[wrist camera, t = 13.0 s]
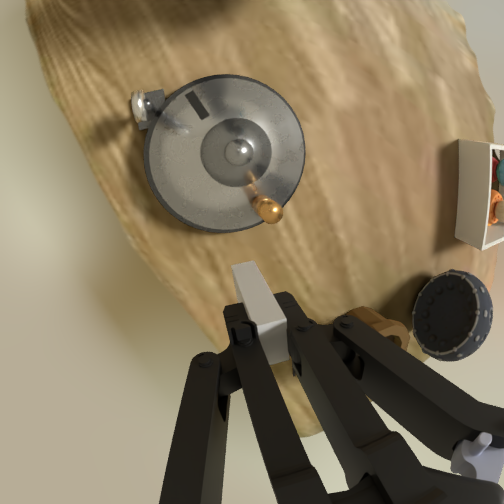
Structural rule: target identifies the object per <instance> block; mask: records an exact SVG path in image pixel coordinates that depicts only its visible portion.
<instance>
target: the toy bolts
mask: <svg viewBox="0 0 504 504" xmlns="http://www.w3.org/2000/svg"><path fill="white" fill-rule="evenodd" d="M497 179H498V181H499V183H500V185H501V186H504V159H502V160H501V161H500V162H499V163H498V161H497V160H496V159H495V158H494V157H492V181H491V182H495V181H496V180H497ZM498 220H499V221H501V222H504V201H503V199H502V196H501V194H500V193H499V192H497V191H496V190H493V189H492V190H491V197H490V208H489V218H488V226H491V225H492V224H494V223H496V222H497V221H498Z"/></svg>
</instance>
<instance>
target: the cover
mask: <svg viewBox="0 0 504 504" xmlns="http://www.w3.org/2000/svg"><path fill="white" fill-rule="evenodd" d="M271 156H272V148H271V143H270V140H269V138H268V135H267V134H266V132H265V131H264V130H263V129H262V128H261V127H260V126H259V125H258V124H256V123H255V122H253V121H251V120H248V119H244V118H230V119H226V120H223V121H221V122H219V123H218V124H216V125H215V126H213V127H212V128H211V129H210V130H209V131H208V132H207V133H206V135H205V136H204V138H203V140H202V142H201V146H200V159H201V162H202V165H203V167H204V168H205V170H206V171H207V173H208V174H209V175H210V176H211V177H212V178H213V179H214V180H215V181H217V182H218V183H220V184H223V185H225V186H229V187H243V186H247V185H250V184H252V183H254V182H255V181H257V180H258V179H259V178H261V177H262V176H263V174H264V173H265V172H266V170H267V169H268V167H269V164H270V161H271Z"/></svg>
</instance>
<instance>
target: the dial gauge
mask: <svg viewBox="0 0 504 504" xmlns="http://www.w3.org/2000/svg"><path fill="white" fill-rule="evenodd" d="M164 102H165V94H164V89H161V90H156V91H152V92H147V93H144V91H143V89H141V90H137V91H134V92H132V93H131V103H132V110H133V114H134V118H135V121H136V122H137V123H138V126H139V130H140V131H141V130H145V129H148V128H149V126H150V123H151V121H152V119H153V117H154V115H155V114H156V112H157V111H158V109H159V108H160V106H161V105H162V104H163V103H164Z"/></svg>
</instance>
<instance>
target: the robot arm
mask: <svg viewBox="0 0 504 504" xmlns="http://www.w3.org/2000/svg"><path fill="white" fill-rule="evenodd" d="M231 267H232V273H233V278H234V284H235V289H236V294H237V299H238V303H237V304H232V305H228V306H225V308H224V311H223V314H224V318H225V323H226V327H227V331H228V335H229V339H230V344H229V346H228V347H227V349H226V350H224V351H223V352H221V353H219V354H215V353H213V352H202V353H200V354H197V355H196V356H195V357H194V358H193V359H192V361H191V363H190V367H189V371H188V375H187V379H186V383H185V388H184V392H183V396H182V400H181V405H180V408H179V413H178V417H177V421H176V426H175V430H174V435H173V439H172V444H171V448H170V452H169V457H168V462H167V466H166V472H165V476H164V481H163V486H162V491H161V496H160V501H159V504H221V501H222V488H223V477H224V465H225V453H226V441H227V430H228V418H229V407H230V394H231V393H233V392H235V391H237V390H239V389H241V388H242V389H243V393H244V396H245V400H246V403H247V407H248V410H249V414H250V417H251V421H252V424H253V427H254V431H255V434H256V437H257V441H258V444H259V447H260V450H261V453H262V457H263V460H264V463H265V466H266V470H267V472H268V476H269V479H270V482H271V485H272V488H273V491H274V494H275V497H276V500H277V503H278V504H504V490H503V488H502V487H501V486H500V485H498V481H499V478H500V475H501V471H502V468H503V464H504V408H500V407H496V406H493V405H488V404H485V403H482V402H479V401H477V400H476V399H474V398H473V397H472V396H470V395H469V394H467V393H466V392H464V391H463V390H462V389H460V388H459V387H457V386H456V385H454V384H453V383H451V382H450V381H448V380H447V379H446V378H444V377H443V376H441V375H440V374H438V373H437V372H435V371H434V370H433V369H431V368H430V367H428V366H427V365H425V364H424V363H422V362H421V361H419V360H418V359H417V358H415V357H414V356H412V355H411V354H409V353H408V352H406V351H405V350H403V349H402V348H401V347H399V346H398V345H396V344H395V343H393V342H392V341H390V340H389V339H387V338H386V337H384V336H383V335H382V334H380V333H379V332H377V331H376V330H374V329H373V328H371V327H370V326H368V325H367V324H365V323H364V322H363V321H361V320H360V319H358V318H357V317H355V316H352V315H342V316H339V317H337V318H336V319H335V320H334V322H333V324H329V325H319V324H317V323H316V322H315V321H314V320H312V319H309V318H307V316H306V315H305V313H304V312H303V310H302V309H301V307H300V306H299V305H298V303H297V301H296V300H295V298H294V297H293V295H291V294H290V293H288V292H286V291H285V292H280V293H276V294H272V292H271V290H270V288H269V287H268V285H267V283H266V281H265V280H264V278H263V276H262V274H261V272H260V271H259V269H258V267H257V265H256V263H255V262H254V261H249V262H244V263H240V264H235V265H231ZM289 354H290V356H291V358H292V367H293V377H294V376H295V372H296V374H297V377H298V379H299V381H300V383H301V385H302V387H303V389H304V391H305V393H306V395H307V397H308V399H309V401H310V403H311V405H312V407H313V410H314V412H315V414H316V416H317V418H318V420H319V422H320V424H321V426H322V428H323V430H324V432H325V434H326V436H327V438H328V440H329V442H330V444H331V446H332V448H333V450H334V452H335V454H336V456H337V458H338V460H339V462H340V464H341V466H342V468H343V470H344V473H345V477H346V482H347V485H348V488H349V490H347V491H342V492H336V493H330V494H327V492H326V489H325V487H324V485H323V483H322V481H321V478H320V476H319V474H318V472H317V470H316V469H315V467H313V466H312V465H311V463H310V461H309V459H308V456H307V454H306V452H305V450H304V447H303V445H302V442H301V440H300V438H299V435H298V433H297V431H296V428H295V426H294V423H293V421H292V419H291V416H290V414H289V412H288V409H287V407H286V404H285V402H284V399H283V397H282V395H281V392H280V390H279V387H278V385H277V382H276V380H275V377H274V375H273V372H272V370H271V367H270V365H273V364H276V363H280V362H283V361H287V360H289ZM365 394H366V395H367V396H368V397H369V398H370V399H371V400H372V401H374V402H375V403H376V404H377V405H378V406H379V407H380V408H382V409H383V410H384V411H385V412H386V413H387V414H389V415H390V416H391V417H392V418H393V419H395V420H396V421H397V422H398V423H399V424H400V425H402V426H403V427H404V428H405V429H406V430H407V431H409V432H410V433H411V434H412V435H413V436H415V437H416V438H417V439H418V440H419V441H420V442H422V443H423V444H424V445H425V446H426V447H428V448H429V449H430V450H432V451H433V452H435V453H436V454H437V455H439V456H441V457H443V458H445V459H447V460H450V461H451V471H452V472H453V473H459V474H461V475H462V476H460V475H456V474H452V473H447V472H443V471H440V470H436V469H432V468H428V467H425V466H422V465H421V463H420V462H419V460H418V459H417V457H416V456H415V454H414V453H413V451H412V450H411V448H410V447H409V445H408V444H407V443H406V441H405V439H404V438H403V437H402V436H401V434H400V433H398V432H396V431H395V432H394V431H390V430H389V429H388V428H387V426H386V425H385V423H384V422H383V420H382V419H381V417H380V416H379V414H378V413H377V411H376V410H375V408H374V407H373V406H372V404H371V402H370V401H369V399H368V398H367V396H366V395H365Z"/></svg>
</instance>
